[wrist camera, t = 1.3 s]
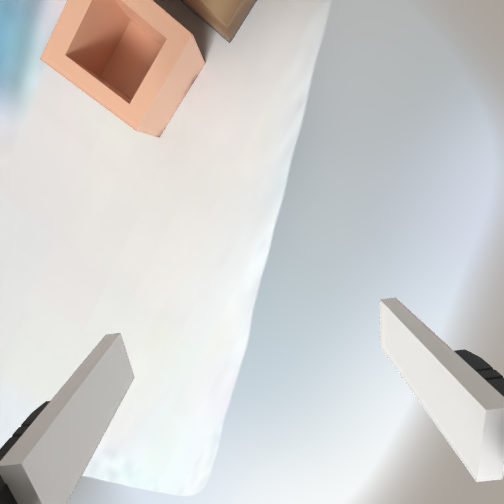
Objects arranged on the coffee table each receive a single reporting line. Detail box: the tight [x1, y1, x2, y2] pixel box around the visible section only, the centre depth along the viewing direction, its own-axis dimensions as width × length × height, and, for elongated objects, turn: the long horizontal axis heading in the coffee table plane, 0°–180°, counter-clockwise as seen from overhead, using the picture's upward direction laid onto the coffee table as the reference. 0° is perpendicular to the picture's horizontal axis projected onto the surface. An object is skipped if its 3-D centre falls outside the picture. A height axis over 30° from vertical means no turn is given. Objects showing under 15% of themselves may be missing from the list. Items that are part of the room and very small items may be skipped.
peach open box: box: [40, 0, 205, 137], centre depth 27 cm, size 9×9×7 cm
